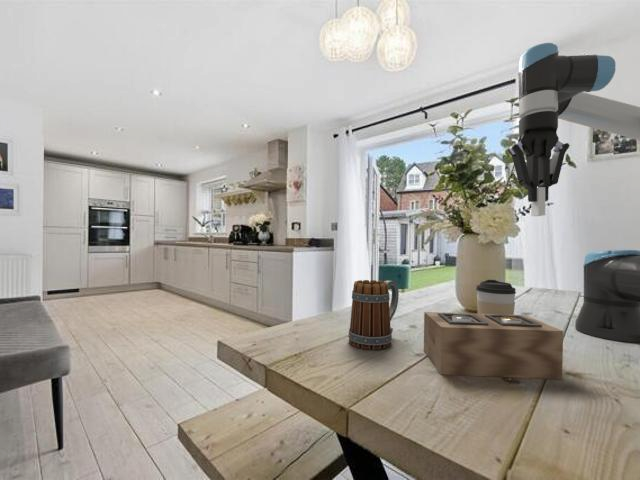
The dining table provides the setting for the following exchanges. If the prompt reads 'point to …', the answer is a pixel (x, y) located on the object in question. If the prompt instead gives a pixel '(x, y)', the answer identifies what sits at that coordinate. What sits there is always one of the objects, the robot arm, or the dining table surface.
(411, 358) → the dining table surface
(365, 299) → the mug
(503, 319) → the peg
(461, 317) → the peg
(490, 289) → the coffee cup
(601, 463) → the dining table surface
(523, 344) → the socket block
